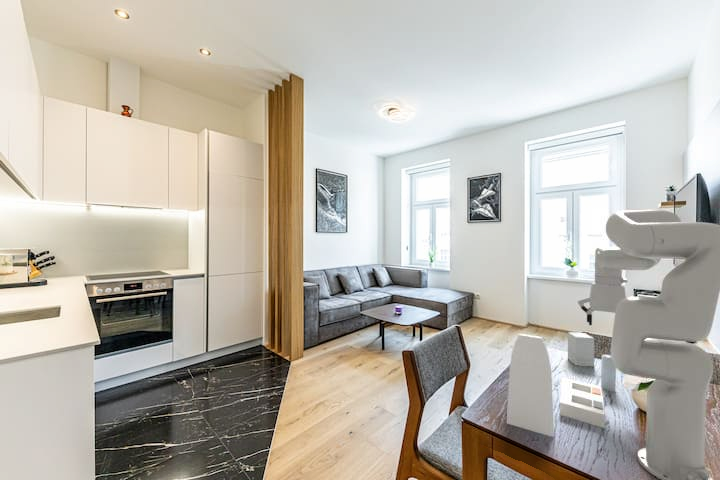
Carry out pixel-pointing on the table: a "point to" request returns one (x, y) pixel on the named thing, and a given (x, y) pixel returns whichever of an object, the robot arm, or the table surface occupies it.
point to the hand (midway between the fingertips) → (606, 326)
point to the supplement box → (581, 349)
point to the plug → (608, 374)
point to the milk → (530, 386)
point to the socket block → (582, 402)
